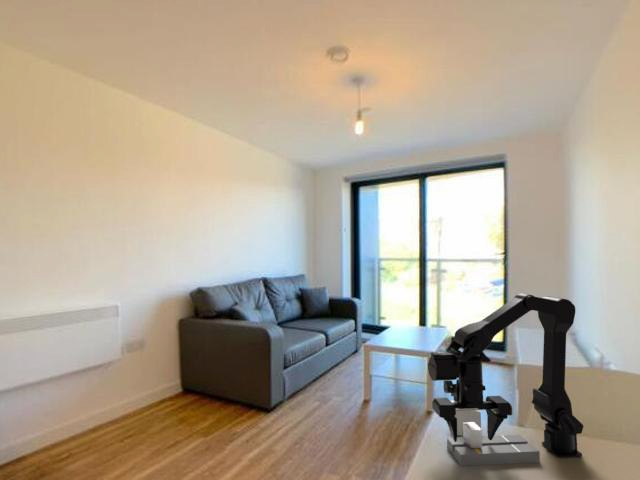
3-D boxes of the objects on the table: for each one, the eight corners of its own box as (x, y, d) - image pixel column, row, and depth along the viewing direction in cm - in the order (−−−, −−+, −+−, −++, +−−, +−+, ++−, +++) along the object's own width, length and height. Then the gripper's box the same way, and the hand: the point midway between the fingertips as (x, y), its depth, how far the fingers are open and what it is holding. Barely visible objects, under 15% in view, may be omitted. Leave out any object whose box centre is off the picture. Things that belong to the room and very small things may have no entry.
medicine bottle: (481, 437, 99) (480, 394, 99) (454, 435, 100) (453, 392, 101) (475, 425, 106) (474, 385, 106) (450, 423, 107) (449, 383, 108)
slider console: (519, 444, 95) (519, 434, 95) (539, 461, 87) (539, 450, 87) (447, 447, 94) (446, 437, 94) (460, 465, 86) (460, 454, 86)
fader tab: (474, 445, 93) (473, 422, 93) (482, 454, 89) (481, 429, 89) (463, 446, 92) (462, 422, 93) (470, 454, 88) (470, 430, 89)
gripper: (489, 367, 100) (491, 423, 99) (424, 369, 99) (425, 426, 98) (512, 381, 89) (514, 445, 88) (439, 384, 88) (441, 448, 87)
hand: (472, 440), depth 91 cm, fingers open, 9 cm apart
